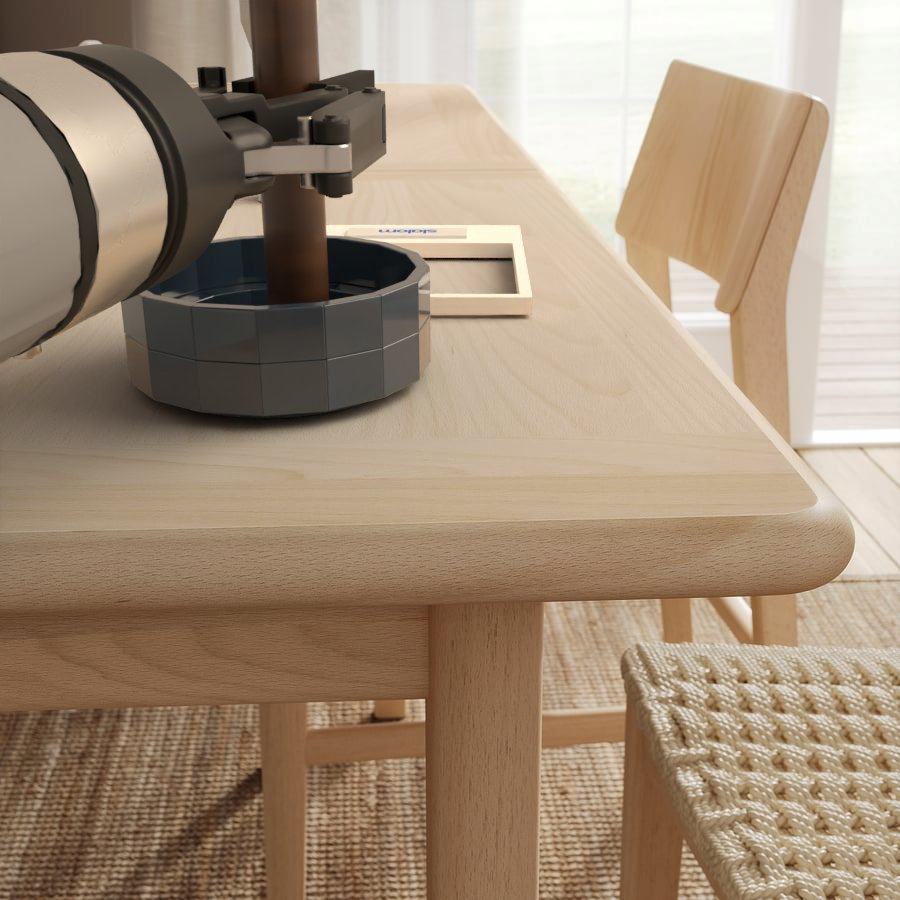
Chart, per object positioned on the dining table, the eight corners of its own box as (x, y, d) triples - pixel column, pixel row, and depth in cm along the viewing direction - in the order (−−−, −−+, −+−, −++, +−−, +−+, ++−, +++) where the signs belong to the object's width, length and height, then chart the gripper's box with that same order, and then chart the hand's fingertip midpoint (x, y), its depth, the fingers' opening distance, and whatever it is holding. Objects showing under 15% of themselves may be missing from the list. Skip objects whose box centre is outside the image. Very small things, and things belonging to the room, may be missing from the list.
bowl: (68, 391, 51) (52, 279, 49) (267, 318, 61) (260, 223, 59) (303, 454, 45) (296, 327, 43) (482, 361, 55) (483, 255, 53)
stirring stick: (255, 318, 53) (229, -65, 47) (295, 303, 56) (275, -64, 49) (303, 327, 52) (283, -66, 46) (342, 312, 54) (327, -65, 48)
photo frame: (519, 222, 78) (532, 293, 61) (519, 239, 78) (532, 314, 61) (299, 221, 78) (252, 293, 61) (300, 238, 78) (254, 313, 62)
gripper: (-145, 293, 38) (185, 172, 59) (321, 329, 34) (495, 186, 55) (-196, 47, 35) (171, 12, 56) (309, 56, 31) (497, 16, 52)
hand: (331, 99), depth 55 cm, fingers closed on stirring stick, 3 cm apart
